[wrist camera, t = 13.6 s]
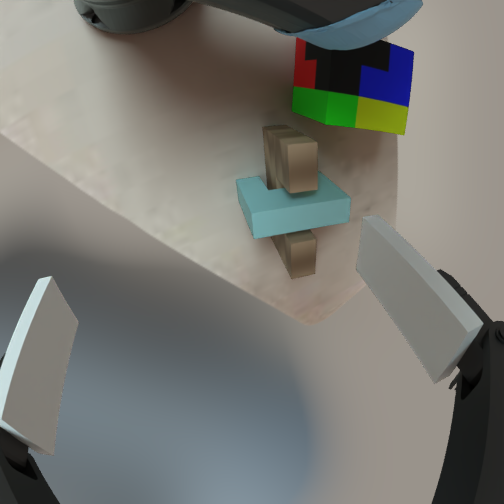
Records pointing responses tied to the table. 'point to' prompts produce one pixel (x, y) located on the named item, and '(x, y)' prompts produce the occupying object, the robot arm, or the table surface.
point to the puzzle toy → (354, 85)
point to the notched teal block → (291, 207)
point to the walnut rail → (292, 190)
